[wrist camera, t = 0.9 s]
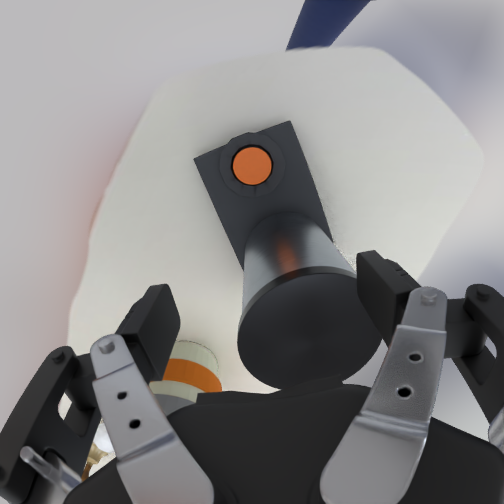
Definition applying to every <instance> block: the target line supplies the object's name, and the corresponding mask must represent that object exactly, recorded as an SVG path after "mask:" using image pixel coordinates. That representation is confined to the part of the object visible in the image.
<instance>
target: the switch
mask: <svg viewBox="0 0 504 504" xmlns="http://www.w3.org/2000/svg"><path fill="white" fill-rule="evenodd" d="M233 170H234V173H235V175H236V177H237V178H238V179H239V180H240V181H242V182H243V183H246V184H250V185H255V184H259V183H261V182H263V181H264V180H265V179H266V178H267V177H268V176H269V174H270V171H271V161H270V158H269V156H268V155H267V154H266V153H265V152H264V151H263V150H261V149H259V148H254V147H250V148H246V149H243V150H242V151H240V152H239V153H238V154H237V155H236V157H235V159H234V162H233Z"/></svg>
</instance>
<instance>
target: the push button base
mask: <svg viewBox="0 0 504 504" xmlns="http://www.w3.org/2000/svg"><path fill="white" fill-rule="evenodd" d="M250 147H254V148H259V149H261V150H263V151H264V152H265V153H266V154H267V155H268V156H269V158H270V161H271V171H270V174H269V176H268V177H267V178H266V179H265V180H264V181H263V182H261V183H259V184H255V185H250V184H246V183H243V182H242V181H240V180H239V179H238V178H237V177H236V175H235V173H234V170H233V162H234V159H235V157H236V155H237V154H238V153H239V152H240V151H242V150H243V149H246V148H250ZM194 161H195V164H196V166H197V168H198V171H199V173H200V175H201V178H202V180H203V182H204V184H205V187H206V189H207V191H208V193H209V196H210V198H211V200H212V202H213V205H214V207H215V209H216V211H217V214H218V216H219V218H220V220H221V223H222V225H223V227H224V229H225V232H226V234H227V236H228V238H229V240H230V243H231V245H232V247H233V249H234V252H235V254H236V256H237V258H238V260H239V263H240V265H241V267H242V269H243V271H244V261H245V247H246V242H247V240H248V237H249V235H250V233H251V232H252V230H253V229H254V228H255V227H256V226H257V225H258V224H259V223H260V222H261V221H263V220H264V219H266V218H267V217H270V216H272V215H275V214H278V213H286V212H291V213H298V214H301V215H304V216H306V217H308V218H310V219H311V220H313V221H314V222H315V223H316V224H317V225H318V226H319V227H320V228H321V229H322V230H323V232H324V233H325V234H326V235H327V237H328V238H329V239H330V240H331V242H332V243H333V240H332V236H331V233H330V230H329V227H328V223H327V220H326V217H325V214H324V211H323V208H322V205H321V202H320V199H319V196H318V193H317V190H316V187H315V184H314V182H313V179H312V176H311V173H310V170H309V168H308V165H307V162H306V159H305V157H304V154H303V152H302V149H301V146H300V144H299V141H298V139H297V136H296V134H295V131H294V129H293V126H292V124H291V121H287V122H284V123H282V124H279V125H276V126H273V127H270V128H268V129H265V130H262V131H259V132H257V133H249V132H248V133H245V134H242V135H240V136H237V137H235V138H232V139H231V140H230V141H229V143H228V144H226V145H224V146H222V147H219V148H217V149H215V150H212V151H210V152H208V153H206V154H203V155H201V156H199V157H197V158H194ZM333 244H334V243H333Z"/></svg>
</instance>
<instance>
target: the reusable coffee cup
mask: <svg viewBox="0 0 504 504" xmlns="http://www.w3.org/2000/svg"><path fill="white" fill-rule="evenodd" d="M149 387H150V389H151V390H152V392H153V394H154V395H155V397H156V399H157V400H158V402H159V404H160V405H161V407H162V408H163V410H164V412H165V413H166V415H169V414H170V413H172V412H174V411H176V410H178V409H180V408H182V407H185V406H188V405H191V404H194V403H196V399H197V393H206V392H222V387H221V383H220V381H219V379H218V364H217V360H216V358H215V356H214V355H213V353H212V352H211V351H210V350H208V349H207V348H205V347H204V346H202V345H200V344H197V343H194V342H188V341H180V342H175V344H174V347H173V349H172V352H171V355H170V358H169V361H168V364H167V367H166V370H165V373H164V376H163V379H162V381H150V384H149Z"/></svg>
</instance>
